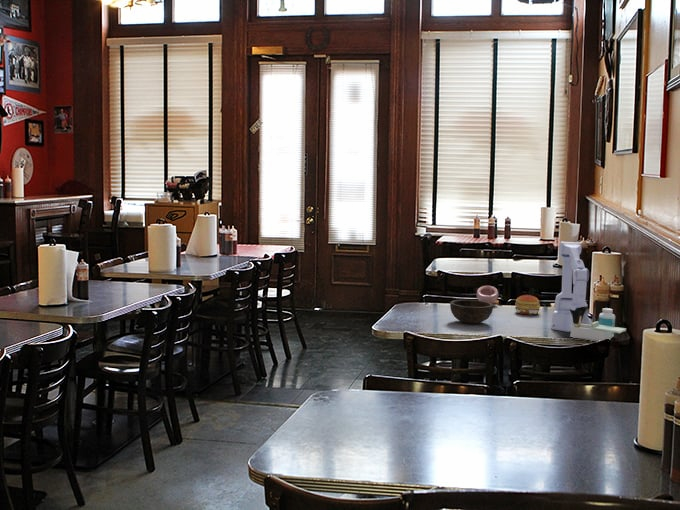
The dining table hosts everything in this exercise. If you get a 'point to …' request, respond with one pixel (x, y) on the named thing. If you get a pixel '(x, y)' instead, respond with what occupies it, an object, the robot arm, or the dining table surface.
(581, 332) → the housing
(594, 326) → the lid
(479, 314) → the bowl
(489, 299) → the pink round pot
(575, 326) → the brass jaw pin
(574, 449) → the dining table surface
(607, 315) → the pill bottle
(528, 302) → the burger
